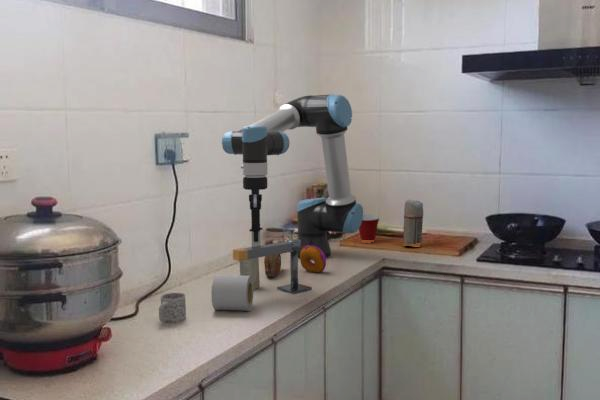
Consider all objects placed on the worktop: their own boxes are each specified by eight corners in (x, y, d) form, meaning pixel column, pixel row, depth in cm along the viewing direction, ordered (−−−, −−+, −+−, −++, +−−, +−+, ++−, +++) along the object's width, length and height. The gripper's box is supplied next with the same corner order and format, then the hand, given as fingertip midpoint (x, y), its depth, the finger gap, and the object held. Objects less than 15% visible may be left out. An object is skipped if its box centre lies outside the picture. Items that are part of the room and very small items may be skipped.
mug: (170, 314, 182) (169, 291, 181) (190, 316, 180) (189, 293, 179) (149, 325, 173) (148, 301, 172) (170, 327, 170) (170, 303, 169)
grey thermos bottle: (411, 243, 280) (411, 198, 277) (426, 246, 273) (426, 200, 271) (398, 246, 274) (398, 200, 272) (413, 249, 268) (414, 202, 266)
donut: (317, 268, 235) (317, 242, 234) (328, 274, 227) (328, 246, 226) (297, 270, 232) (297, 243, 231) (307, 276, 224) (307, 248, 223)
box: (260, 287, 210) (259, 254, 209) (252, 290, 207) (251, 256, 205) (247, 285, 213) (247, 252, 212) (239, 287, 210) (238, 254, 208)
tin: (272, 279, 220) (271, 255, 219) (263, 279, 221) (262, 255, 220) (282, 269, 235) (281, 247, 234) (273, 269, 235) (273, 246, 234)
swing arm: (295, 248, 208) (295, 238, 208) (303, 250, 205) (303, 240, 205) (232, 259, 193) (231, 248, 193) (240, 261, 190) (239, 250, 190)
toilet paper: (212, 314, 182) (211, 279, 181) (221, 304, 192) (220, 271, 191) (246, 315, 181) (245, 280, 179) (253, 304, 191) (253, 272, 189)
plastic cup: (352, 244, 280) (352, 217, 279) (358, 239, 290) (358, 213, 289) (377, 245, 277) (377, 218, 275) (382, 241, 287) (382, 214, 285)
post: (295, 284, 213) (295, 248, 211) (311, 289, 207) (311, 251, 205) (277, 289, 207) (276, 251, 206) (293, 294, 201) (292, 255, 200)
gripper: (243, 174, 203) (245, 247, 206) (241, 178, 190) (243, 256, 193) (267, 174, 203) (268, 246, 206) (267, 178, 190) (268, 255, 194)
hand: (256, 251), depth 200 cm, fingers closed
